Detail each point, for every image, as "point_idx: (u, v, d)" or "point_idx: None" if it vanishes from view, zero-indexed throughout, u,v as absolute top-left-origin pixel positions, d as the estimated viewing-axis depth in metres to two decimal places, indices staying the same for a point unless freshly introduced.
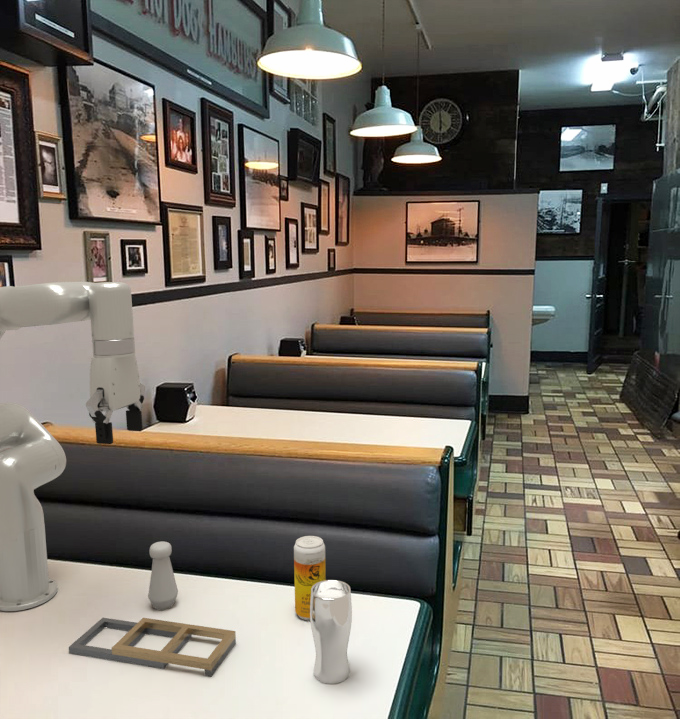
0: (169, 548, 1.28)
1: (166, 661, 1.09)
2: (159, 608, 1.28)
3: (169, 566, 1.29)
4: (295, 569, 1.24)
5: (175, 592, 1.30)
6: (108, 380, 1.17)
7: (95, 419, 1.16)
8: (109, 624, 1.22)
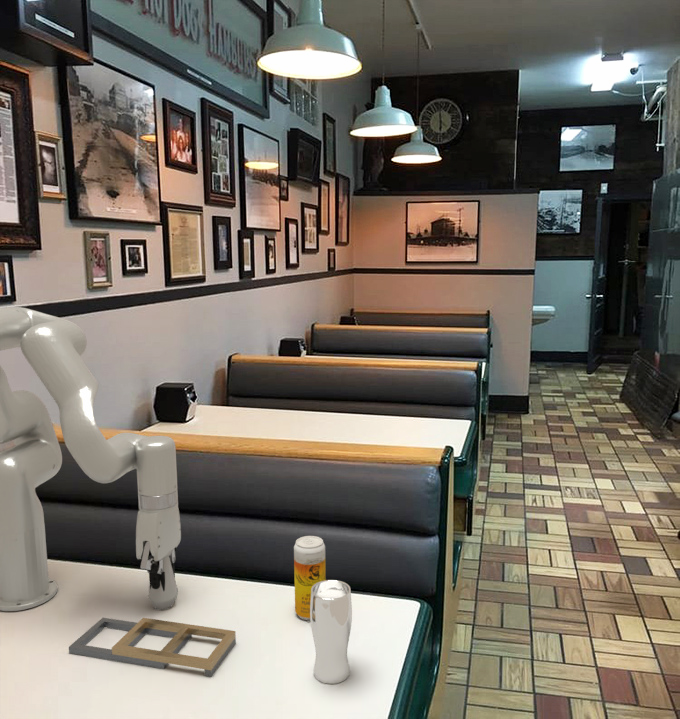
0: None
1: (166, 661, 1.09)
2: (159, 608, 1.28)
3: (169, 566, 1.29)
4: (295, 569, 1.24)
5: (175, 592, 1.30)
6: (154, 534, 1.23)
7: (150, 571, 1.26)
8: (109, 624, 1.22)
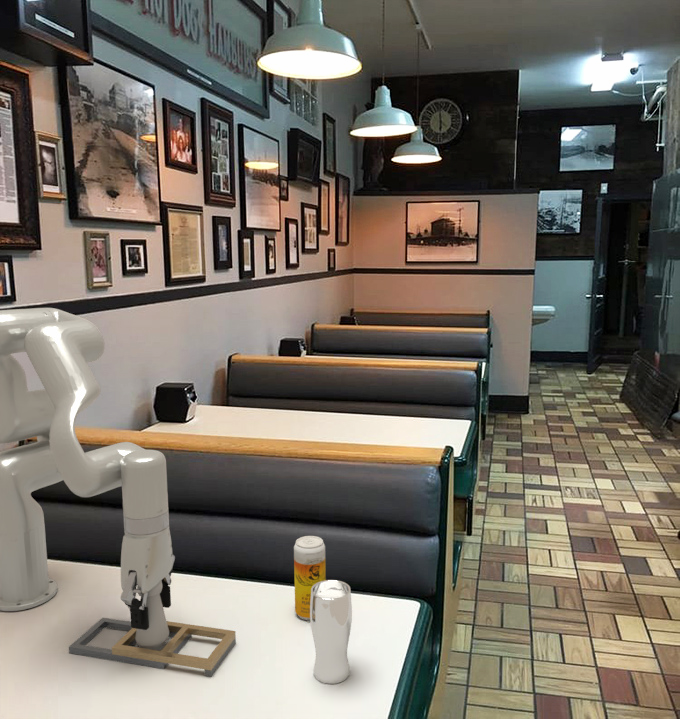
0: (159, 585, 1.13)
1: (166, 661, 1.09)
2: None
3: (159, 605, 1.14)
4: (295, 569, 1.24)
5: (166, 634, 1.15)
6: (141, 563, 1.08)
7: (131, 606, 1.09)
8: (109, 624, 1.22)
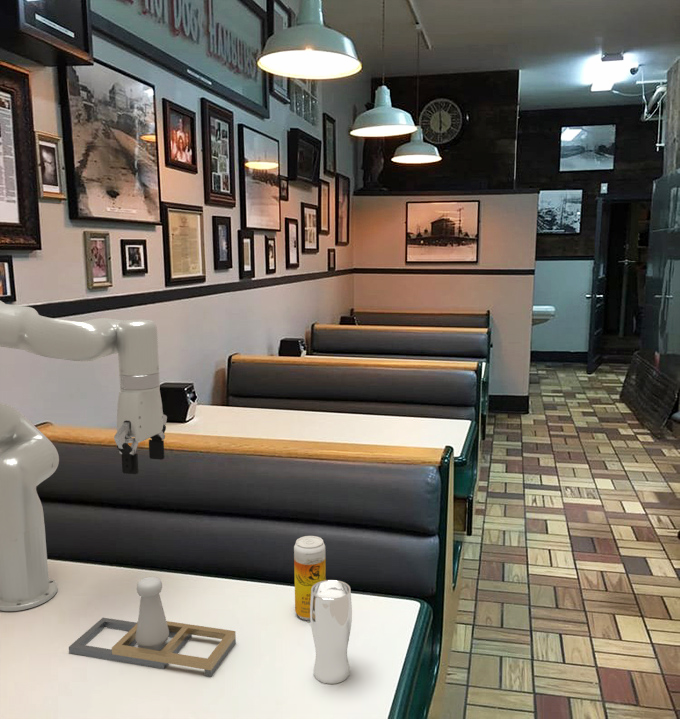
0: (159, 585, 1.13)
1: (166, 661, 1.09)
2: None
3: (159, 605, 1.14)
4: (295, 569, 1.24)
5: (166, 634, 1.15)
6: (135, 414, 1.23)
7: (122, 451, 1.22)
8: (109, 624, 1.22)
